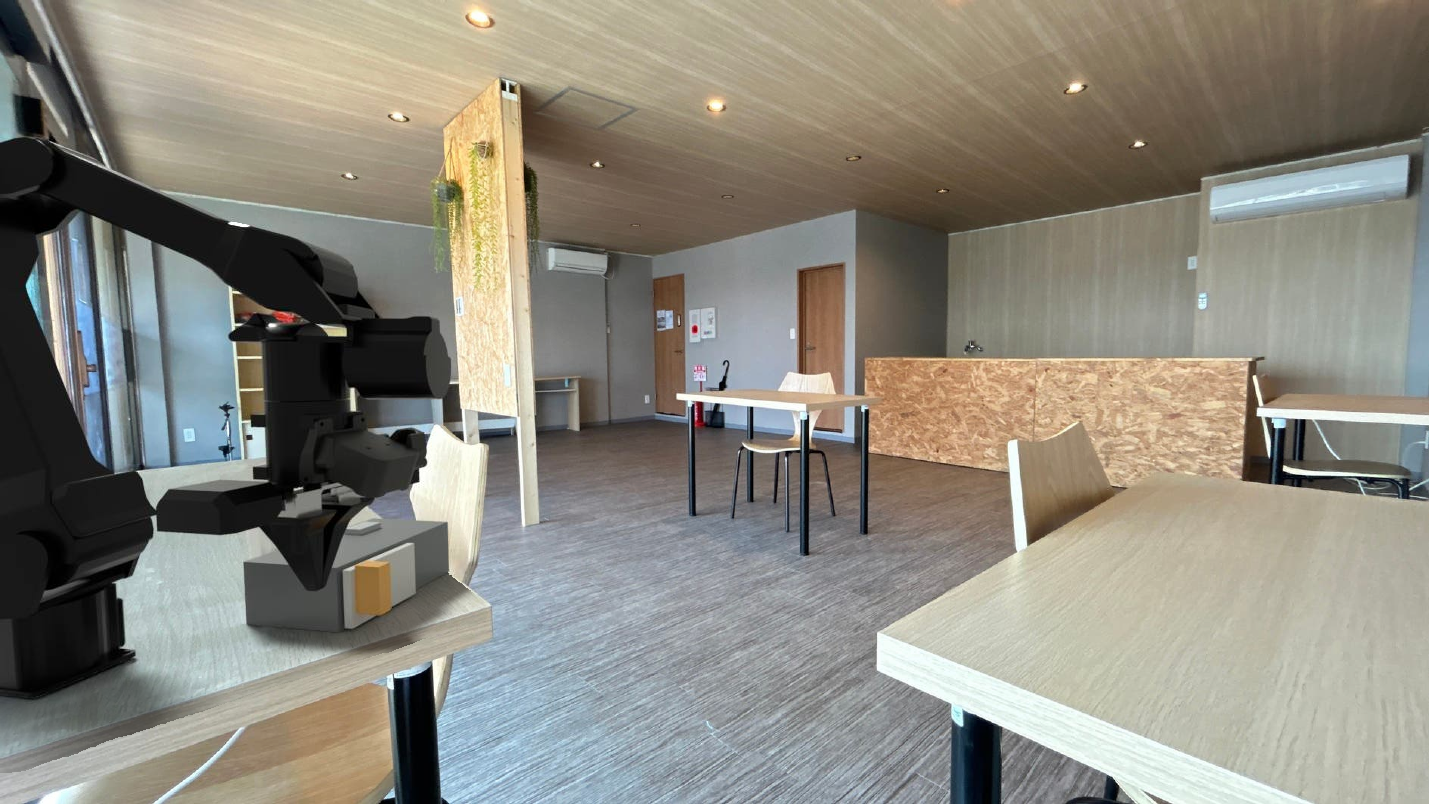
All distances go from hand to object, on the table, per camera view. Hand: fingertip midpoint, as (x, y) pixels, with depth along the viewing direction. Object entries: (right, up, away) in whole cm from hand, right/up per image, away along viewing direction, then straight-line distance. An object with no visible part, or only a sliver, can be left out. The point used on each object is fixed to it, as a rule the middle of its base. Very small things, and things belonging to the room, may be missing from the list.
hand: (315, 589), depth 47 cm
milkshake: (-22, -5, +23) cm, 32 cm away
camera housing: (-5, -5, +14) cm, 16 cm away
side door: (+1, -5, +9) cm, 11 cm away
